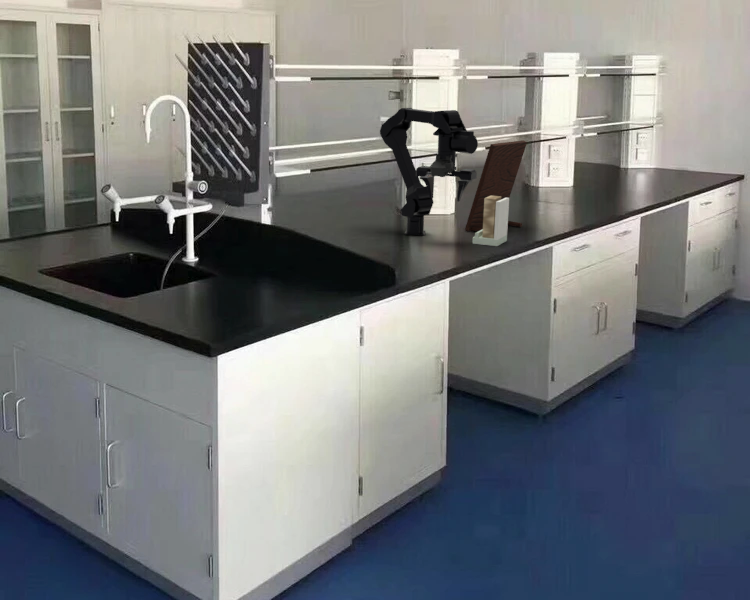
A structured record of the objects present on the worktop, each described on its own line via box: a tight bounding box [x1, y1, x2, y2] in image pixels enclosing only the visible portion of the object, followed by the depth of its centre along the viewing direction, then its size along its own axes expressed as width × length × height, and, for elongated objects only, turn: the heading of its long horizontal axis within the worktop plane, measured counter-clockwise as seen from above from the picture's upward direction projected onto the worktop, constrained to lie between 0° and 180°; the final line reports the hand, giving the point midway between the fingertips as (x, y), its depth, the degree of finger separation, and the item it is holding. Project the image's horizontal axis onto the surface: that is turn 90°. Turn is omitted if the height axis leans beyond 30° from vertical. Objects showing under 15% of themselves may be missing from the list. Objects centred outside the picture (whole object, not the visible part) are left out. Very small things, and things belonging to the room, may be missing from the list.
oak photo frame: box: [482, 196, 501, 238], centre depth 288 cm, size 4×6×12 cm, turn 155°
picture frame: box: [464, 139, 528, 232], centre depth 309 cm, size 21×11×30 cm, turn 141°
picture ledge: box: [472, 197, 510, 247], centre depth 289 cm, size 8×10×14 cm
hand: (444, 200), depth 289 cm, fingers open, 9 cm apart
